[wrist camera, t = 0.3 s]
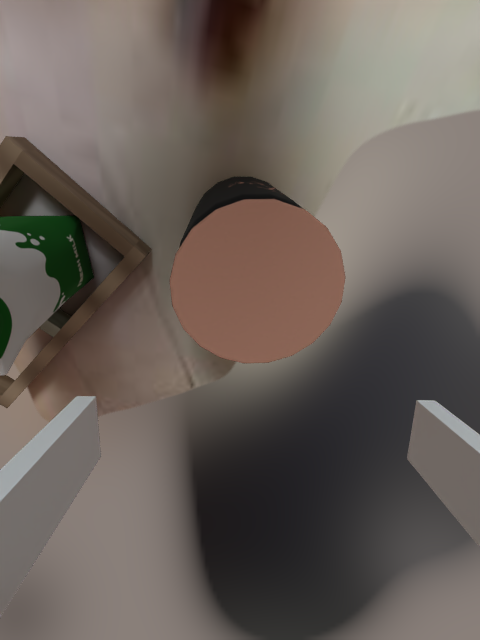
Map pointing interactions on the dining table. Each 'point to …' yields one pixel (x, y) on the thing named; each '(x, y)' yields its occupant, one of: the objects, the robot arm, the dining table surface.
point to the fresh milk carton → (37, 275)
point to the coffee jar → (255, 274)
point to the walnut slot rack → (23, 157)
